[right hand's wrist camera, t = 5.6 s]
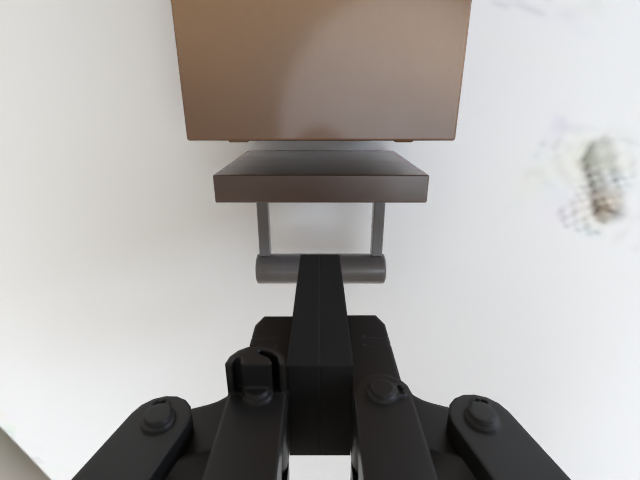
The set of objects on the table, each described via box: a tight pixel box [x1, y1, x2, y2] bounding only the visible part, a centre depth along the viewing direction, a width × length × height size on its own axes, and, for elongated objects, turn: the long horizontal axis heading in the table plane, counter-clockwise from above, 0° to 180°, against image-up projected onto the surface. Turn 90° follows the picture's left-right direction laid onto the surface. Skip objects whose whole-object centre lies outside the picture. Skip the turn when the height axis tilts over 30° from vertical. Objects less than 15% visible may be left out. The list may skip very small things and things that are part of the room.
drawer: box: [213, 141, 429, 283], centre depth 18 cm, size 23×9×8 cm, turn 0°
